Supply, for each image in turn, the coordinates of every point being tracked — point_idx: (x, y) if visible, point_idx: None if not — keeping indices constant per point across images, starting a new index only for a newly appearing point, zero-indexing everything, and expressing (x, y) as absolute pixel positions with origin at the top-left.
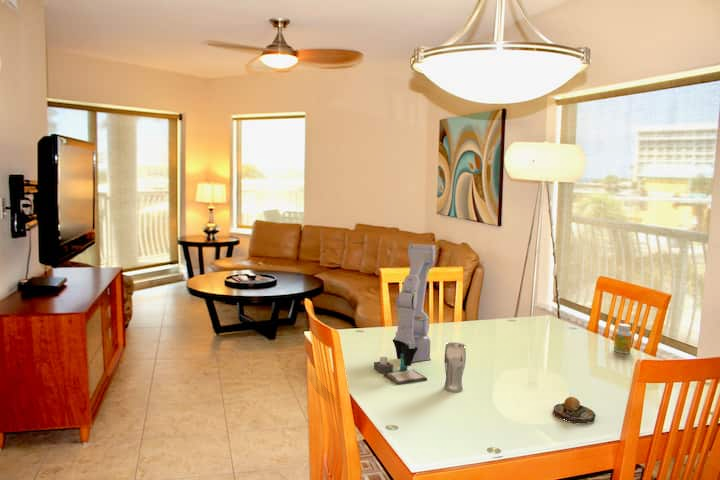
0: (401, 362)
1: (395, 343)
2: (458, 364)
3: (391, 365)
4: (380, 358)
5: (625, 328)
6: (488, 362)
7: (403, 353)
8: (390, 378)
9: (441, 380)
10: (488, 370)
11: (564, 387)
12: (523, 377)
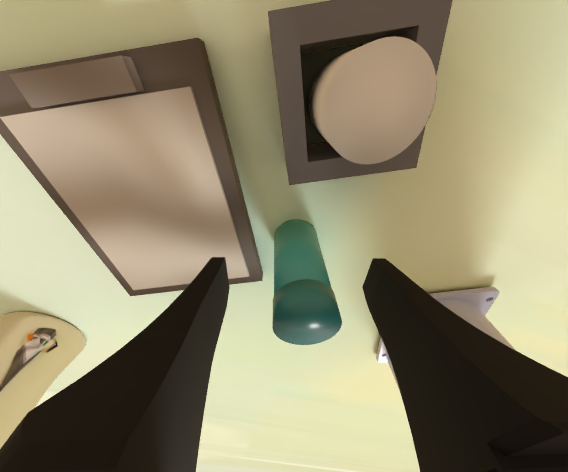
0: (291, 257)
1: (491, 388)
2: None
3: (287, 168)
4: (388, 42)
5: None
6: (296, 425)
7: (167, 343)
8: (67, 60)
9: None
10: (240, 417)
11: None
12: None
